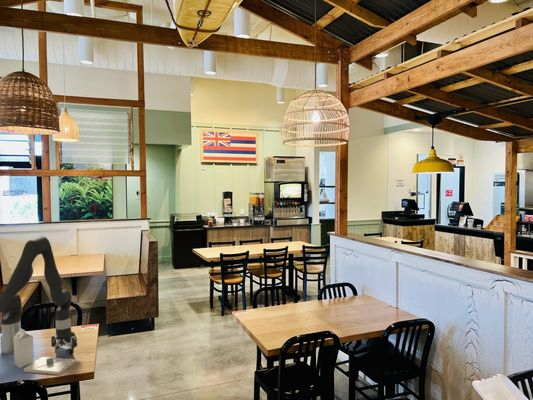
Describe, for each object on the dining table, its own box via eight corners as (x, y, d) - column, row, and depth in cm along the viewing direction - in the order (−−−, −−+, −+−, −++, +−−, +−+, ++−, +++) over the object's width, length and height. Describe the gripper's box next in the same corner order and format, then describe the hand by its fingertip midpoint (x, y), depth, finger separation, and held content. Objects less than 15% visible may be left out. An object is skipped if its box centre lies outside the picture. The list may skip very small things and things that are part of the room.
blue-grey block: (56, 358, 212) (55, 349, 212) (63, 353, 218) (63, 344, 218) (65, 359, 211) (65, 350, 211) (73, 354, 217) (72, 345, 217)
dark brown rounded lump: (81, 340, 236) (77, 332, 231) (68, 352, 229) (64, 344, 224) (68, 332, 241) (64, 324, 236) (55, 344, 234) (51, 336, 229)
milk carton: (29, 359, 212) (27, 325, 211) (34, 363, 207) (32, 329, 206) (14, 364, 206) (12, 329, 205) (19, 368, 202) (17, 333, 201)
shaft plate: (24, 371, 199) (23, 362, 198) (42, 359, 211) (41, 351, 211) (58, 374, 196) (58, 365, 195) (75, 362, 208) (74, 353, 208)
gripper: (47, 328, 211) (48, 356, 212) (70, 329, 209) (71, 358, 210) (56, 322, 218) (57, 350, 219) (79, 324, 216) (80, 351, 217)
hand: (64, 354), depth 215 cm, fingers open, 8 cm apart
